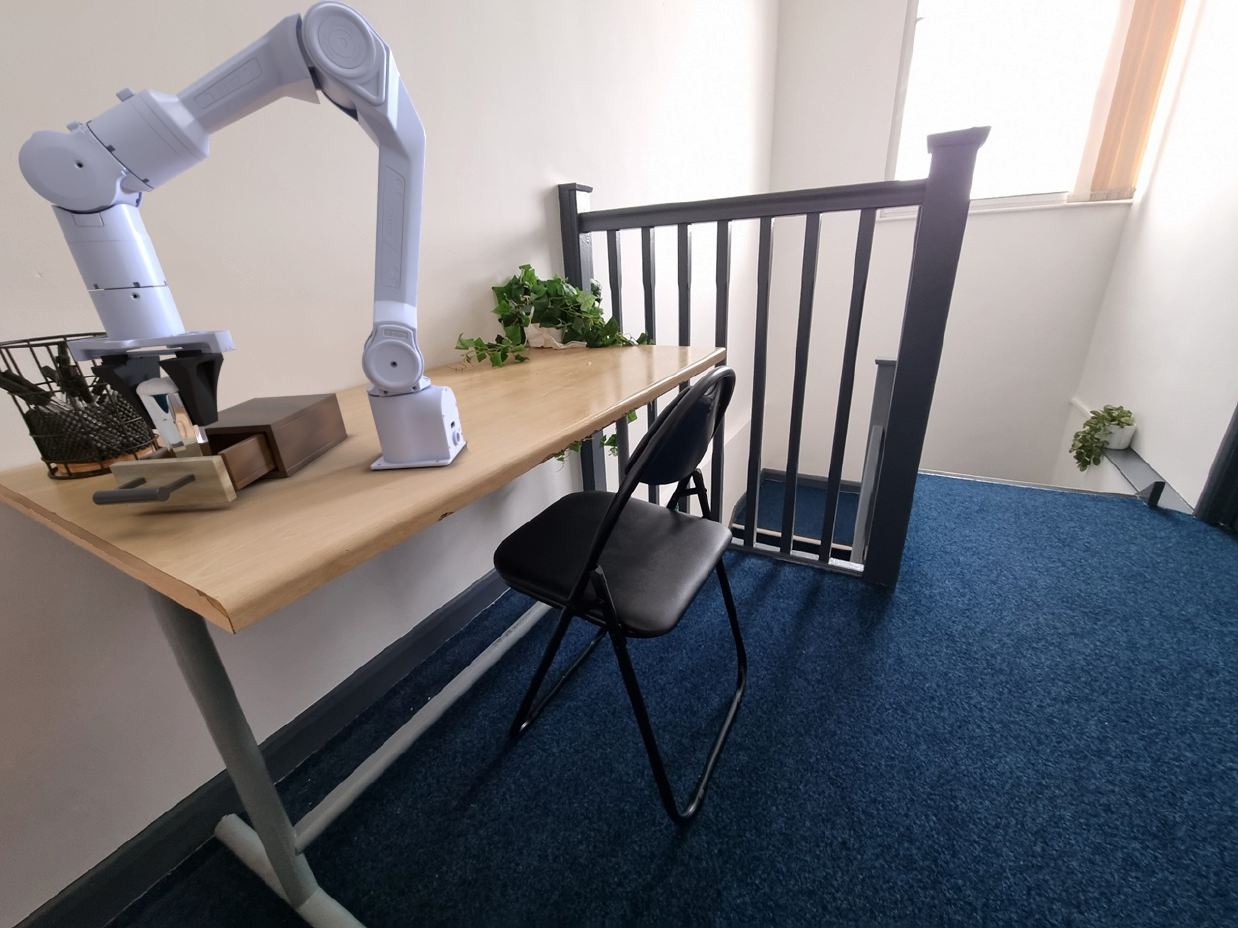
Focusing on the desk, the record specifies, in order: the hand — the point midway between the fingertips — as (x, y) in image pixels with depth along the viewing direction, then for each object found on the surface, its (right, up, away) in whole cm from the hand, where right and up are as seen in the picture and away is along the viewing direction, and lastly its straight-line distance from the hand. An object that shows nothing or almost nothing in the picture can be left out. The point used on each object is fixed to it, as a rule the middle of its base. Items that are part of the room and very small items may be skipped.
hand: (185, 425), depth 52 cm
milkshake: (0, -4, +1) cm, 4 cm away
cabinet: (0, -3, +14) cm, 14 cm away
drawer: (0, -7, +3) cm, 7 cm away
